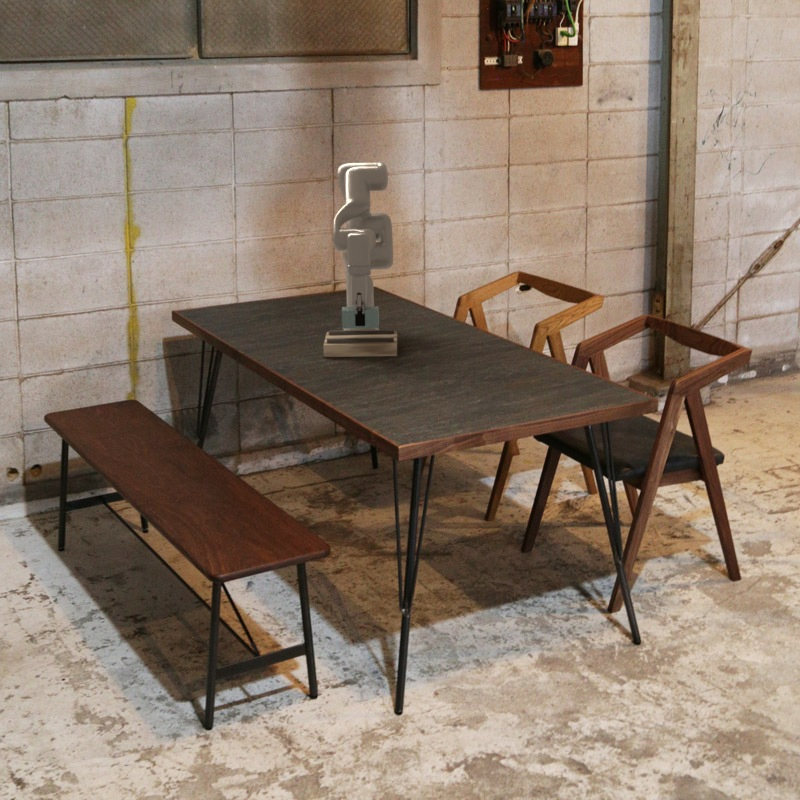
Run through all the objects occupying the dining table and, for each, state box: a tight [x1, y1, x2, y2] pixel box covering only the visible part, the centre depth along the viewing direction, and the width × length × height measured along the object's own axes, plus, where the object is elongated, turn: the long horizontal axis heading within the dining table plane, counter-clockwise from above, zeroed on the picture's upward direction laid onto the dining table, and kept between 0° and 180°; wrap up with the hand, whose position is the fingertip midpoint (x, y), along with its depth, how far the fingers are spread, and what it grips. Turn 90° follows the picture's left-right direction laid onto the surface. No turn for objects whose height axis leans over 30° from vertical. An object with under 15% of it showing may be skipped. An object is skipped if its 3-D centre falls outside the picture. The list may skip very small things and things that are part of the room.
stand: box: [323, 329, 398, 358], centre depth 431 cm, size 18×24×5 cm
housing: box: [341, 305, 380, 330], centre depth 428 cm, size 12×6×6 cm, turn 90°
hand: (360, 323), depth 429 cm, fingers closed on housing, 6 cm apart
